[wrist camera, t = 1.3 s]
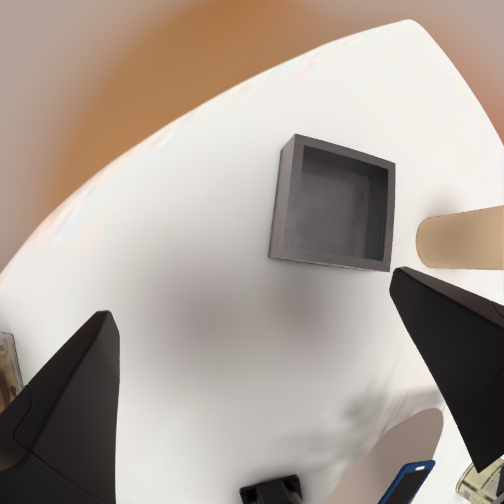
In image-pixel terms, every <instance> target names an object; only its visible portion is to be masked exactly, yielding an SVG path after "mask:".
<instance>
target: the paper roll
mask: <svg viewBox="0 0 504 504" xmlns="http://www.w3.org/2000/svg"><path fill="white" fill-rule="evenodd" d="M416 248H417V252H418V255H419V257H420V259H421V261H422V262H423V263H424V264H425V265H426V266H427V267H429V268H446V269H479V270H504V205H503V206H497V207H491V208H485V209H479V210H473V211H467V212H461V213H455V214H449V215H443V216H437V217H431V218H427V219H425V220H424V221H423V222H422V223H421V224H420V226H419V228H418V231H417V235H416Z"/></svg>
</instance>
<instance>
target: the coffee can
mask: <svg viewBox="0 0 504 504" xmlns="http://www.w3.org/2000/svg"><path fill="white" fill-rule="evenodd" d="M503 465H504V460H503V459H501V458H499V459H497V460H496V461H495V462H494V463H492V464H491V465H490V466H488V467H487V468H486V469H484V470H483V471H482V472H480V473H479V474H478V473H477V471H476V469H475V467H474V464H473V462H472V464H471V465H470V466H469V467H468V468H467V470H466V471H465V472H464V474H463V475H462V477H461V478H460V480H459V482H458V484H457V487H456V492H457V493H458V494H460V495H461V496H463V497H464V498H466V499H467V500H468V501H470V502H471V503H473V504H491V503H492V502H493V501H494V500H496V499H497V496H496V492H497V487H498V482H499V477H500V472H501V467H502V466H503Z"/></svg>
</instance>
